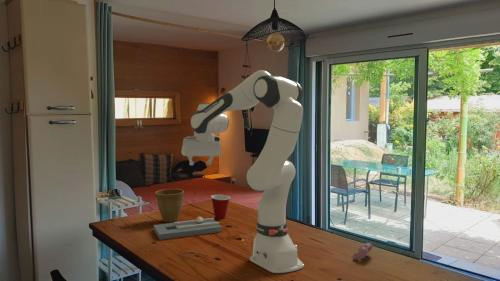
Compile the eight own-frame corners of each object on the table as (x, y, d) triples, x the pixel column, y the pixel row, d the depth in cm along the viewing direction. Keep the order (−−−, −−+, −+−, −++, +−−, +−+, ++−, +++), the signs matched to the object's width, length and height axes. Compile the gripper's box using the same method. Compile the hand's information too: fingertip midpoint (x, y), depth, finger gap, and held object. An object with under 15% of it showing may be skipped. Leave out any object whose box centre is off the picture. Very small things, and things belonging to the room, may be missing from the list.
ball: (204, 225, 185) (204, 217, 185) (196, 226, 184) (196, 218, 183) (202, 222, 189) (201, 215, 189) (194, 223, 187) (194, 215, 187)
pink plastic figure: (361, 265, 146) (370, 251, 144) (351, 258, 148) (359, 244, 146) (368, 257, 154) (376, 244, 152) (358, 250, 156) (366, 237, 154)
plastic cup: (229, 220, 202) (229, 198, 202) (209, 220, 203) (209, 198, 202) (231, 215, 213) (231, 194, 212) (212, 214, 213) (212, 194, 213)
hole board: (221, 231, 183) (221, 224, 183) (159, 239, 171) (159, 232, 170) (211, 223, 197) (211, 216, 197) (153, 230, 185) (153, 222, 185)
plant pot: (171, 215, 212) (170, 187, 211) (189, 219, 203) (189, 190, 202) (150, 221, 200) (149, 192, 199) (169, 226, 191) (168, 195, 190)
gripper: (186, 137, 171) (183, 166, 173) (224, 138, 184) (221, 165, 185) (180, 135, 176) (177, 163, 178) (217, 136, 188) (214, 163, 190)
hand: (200, 164), depth 182 cm, fingers open, 8 cm apart
